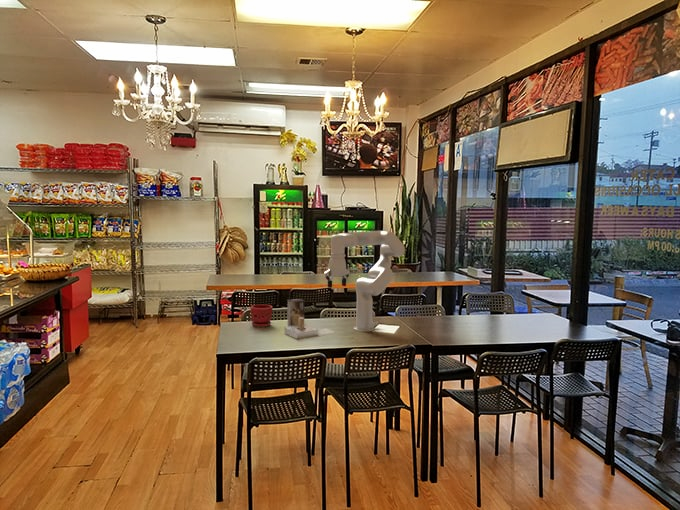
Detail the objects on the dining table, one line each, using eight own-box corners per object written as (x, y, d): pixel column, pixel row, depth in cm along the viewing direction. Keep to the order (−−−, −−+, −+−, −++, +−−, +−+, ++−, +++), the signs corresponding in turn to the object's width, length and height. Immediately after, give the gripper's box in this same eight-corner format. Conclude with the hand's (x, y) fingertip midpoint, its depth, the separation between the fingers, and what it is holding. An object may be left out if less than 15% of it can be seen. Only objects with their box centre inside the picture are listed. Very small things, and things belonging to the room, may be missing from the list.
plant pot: (274, 327, 283) (274, 307, 282) (253, 328, 278) (253, 308, 277) (269, 321, 295) (269, 303, 294) (248, 323, 290) (248, 304, 289)
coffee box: (301, 324, 292) (301, 298, 290) (304, 326, 286) (304, 300, 284) (287, 325, 288) (287, 299, 286) (289, 327, 282) (290, 301, 281)
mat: (326, 329, 281) (326, 328, 281) (336, 332, 273) (336, 332, 273) (312, 331, 275) (312, 330, 275) (321, 335, 267) (321, 334, 267)
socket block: (305, 329, 278) (305, 324, 278) (317, 335, 267) (318, 329, 266) (284, 333, 270) (284, 327, 270) (296, 339, 259) (296, 333, 258)
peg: (302, 333, 270) (302, 317, 270) (304, 334, 268) (305, 318, 267) (297, 334, 269) (297, 317, 268) (300, 335, 266) (300, 319, 265)
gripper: (346, 255, 271) (345, 284, 273) (321, 256, 261) (320, 286, 263) (353, 256, 265) (353, 286, 267) (328, 258, 255) (328, 289, 257)
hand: (336, 286), depth 265 cm, fingers open, 9 cm apart
